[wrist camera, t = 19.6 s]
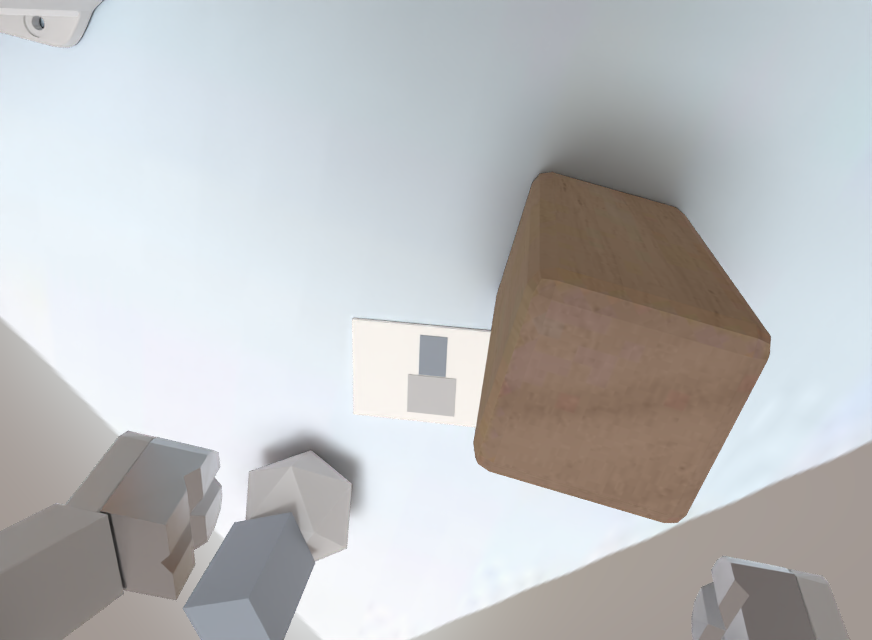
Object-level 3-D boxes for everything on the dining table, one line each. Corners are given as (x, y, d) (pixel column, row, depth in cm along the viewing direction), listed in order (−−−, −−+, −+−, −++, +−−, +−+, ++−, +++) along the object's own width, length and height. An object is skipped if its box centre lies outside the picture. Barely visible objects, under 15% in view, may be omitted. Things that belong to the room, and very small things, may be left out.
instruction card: (354, 412, 54) (353, 414, 54) (353, 317, 51) (351, 320, 50) (509, 428, 53) (509, 431, 52) (518, 333, 50) (518, 335, 49)
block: (631, 342, 49) (684, 538, 31) (493, 302, 49) (465, 474, 31) (688, 207, 44) (789, 342, 26) (537, 164, 45) (534, 268, 27)
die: (245, 446, 58) (212, 567, 53) (283, 423, 51) (250, 558, 47) (333, 472, 61) (309, 588, 57) (380, 453, 55) (358, 582, 50)
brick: (259, 571, 52) (213, 662, 44) (234, 522, 50) (182, 608, 43) (315, 562, 51) (277, 653, 43) (291, 512, 49) (248, 598, 42)
